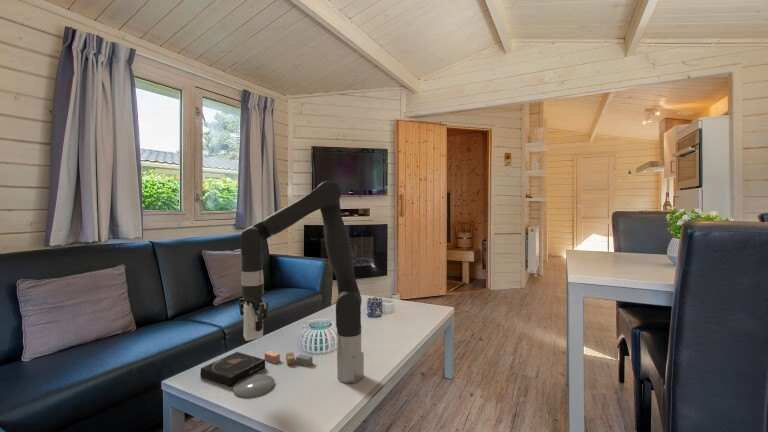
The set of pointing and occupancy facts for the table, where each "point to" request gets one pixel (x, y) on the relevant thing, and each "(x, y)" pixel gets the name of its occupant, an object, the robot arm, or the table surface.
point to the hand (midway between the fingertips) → (253, 328)
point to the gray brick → (304, 360)
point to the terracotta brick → (272, 356)
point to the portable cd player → (232, 368)
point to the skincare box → (251, 324)
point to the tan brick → (290, 358)
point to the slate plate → (253, 385)
